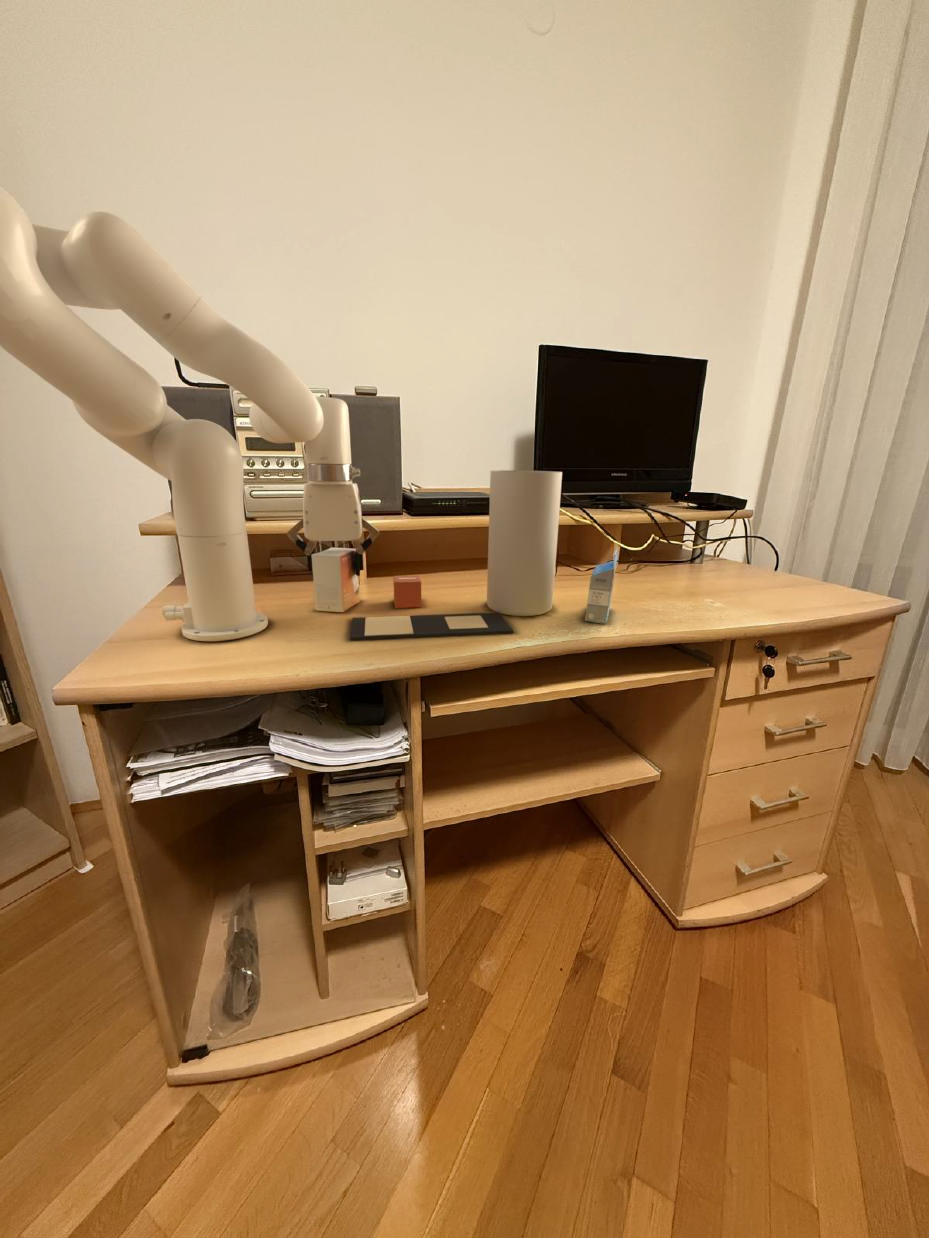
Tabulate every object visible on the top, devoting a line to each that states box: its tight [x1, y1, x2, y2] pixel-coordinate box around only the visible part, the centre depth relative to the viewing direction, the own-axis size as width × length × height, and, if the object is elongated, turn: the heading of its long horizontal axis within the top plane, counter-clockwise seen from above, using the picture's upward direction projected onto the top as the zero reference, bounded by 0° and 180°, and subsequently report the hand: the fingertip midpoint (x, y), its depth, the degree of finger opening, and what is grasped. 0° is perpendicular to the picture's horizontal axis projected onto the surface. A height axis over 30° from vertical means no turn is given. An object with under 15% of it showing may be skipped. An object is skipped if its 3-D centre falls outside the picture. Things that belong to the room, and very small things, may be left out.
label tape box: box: [584, 546, 619, 625], centre depth 87 cm, size 9×4×12 cm, turn 161°
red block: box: [392, 575, 423, 609], centre depth 94 cm, size 5×5×5 cm
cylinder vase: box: [486, 469, 563, 617], centre depth 90 cm, size 12×12×25 cm
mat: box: [349, 611, 514, 641], centre depth 82 cm, size 26×10×1 cm, turn 100°
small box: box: [311, 547, 361, 613], centre depth 91 cm, size 8×6×10 cm
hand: (336, 574), depth 91 cm, fingers closed on small box, 7 cm apart
